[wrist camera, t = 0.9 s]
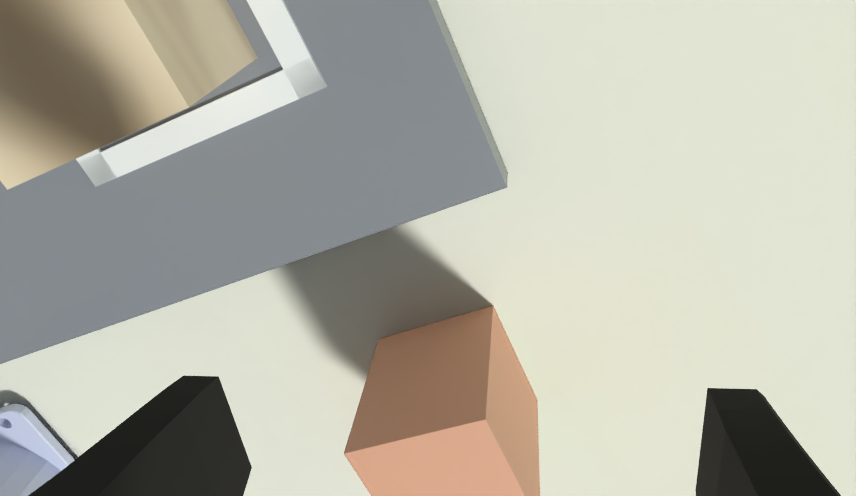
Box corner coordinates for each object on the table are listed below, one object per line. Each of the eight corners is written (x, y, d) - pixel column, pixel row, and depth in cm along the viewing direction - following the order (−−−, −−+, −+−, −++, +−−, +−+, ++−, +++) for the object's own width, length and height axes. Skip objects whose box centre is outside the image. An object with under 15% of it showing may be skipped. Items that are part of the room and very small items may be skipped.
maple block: (105, 128, 18) (7, 189, 15) (-20, -56, 16) (-166, -36, 13) (257, 57, 17) (189, 107, 13) (142, -156, 15) (25, -163, 11)
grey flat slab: (-10, 356, 25) (-32, 376, 24) (-410, -95, 18) (-462, -93, 17) (507, 172, 19) (506, 189, 18) (187, -601, 12) (158, -641, 11)
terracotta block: (428, 425, 24) (407, 550, 19) (378, 338, 22) (343, 453, 18) (537, 398, 22) (540, 525, 18) (493, 304, 21) (485, 419, 17)
